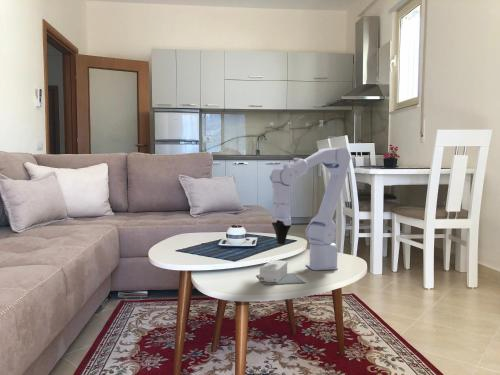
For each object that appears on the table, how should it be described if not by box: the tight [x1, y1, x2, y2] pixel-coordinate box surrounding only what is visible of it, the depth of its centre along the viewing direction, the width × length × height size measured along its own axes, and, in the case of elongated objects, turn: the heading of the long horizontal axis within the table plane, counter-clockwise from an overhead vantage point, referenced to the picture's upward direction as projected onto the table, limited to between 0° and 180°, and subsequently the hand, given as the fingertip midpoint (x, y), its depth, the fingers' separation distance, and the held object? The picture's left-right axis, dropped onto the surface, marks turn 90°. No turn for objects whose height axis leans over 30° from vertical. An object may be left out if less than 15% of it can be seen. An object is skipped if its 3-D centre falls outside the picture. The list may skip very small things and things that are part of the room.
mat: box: [255, 272, 306, 286], centre depth 134 cm, size 13×11×1 cm
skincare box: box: [259, 259, 288, 283], centre depth 135 cm, size 6×4×12 cm
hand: (281, 243), depth 140 cm, fingers closed
